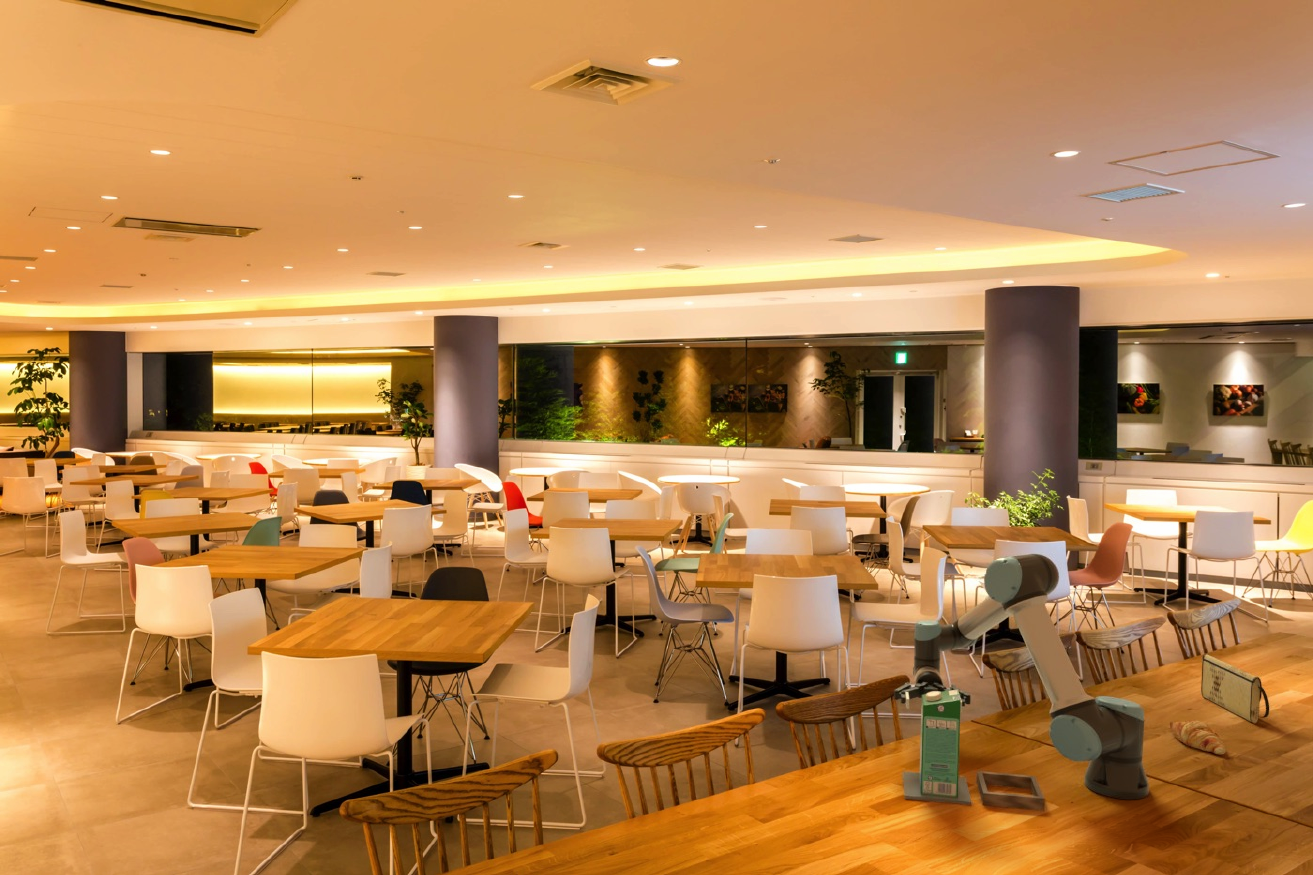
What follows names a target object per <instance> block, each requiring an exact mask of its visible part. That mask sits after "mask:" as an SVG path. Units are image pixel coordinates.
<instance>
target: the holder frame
mask: <svg viewBox="0 0 1313 875" xmlns="http://www.w3.org/2000/svg"><path fill="white" fill-rule="evenodd" d="M976 785H978V786H977V789H978V793H979V795H980V800H981V803H982V806H990V807H992V806H993V807H999V808H1000V807H1001V808H1010V809H1021V810H1031V811H1032V810H1033V811H1042V812H1045V809H1046V808H1045V806H1046V805H1045V802H1046V801H1045V800H1046V799H1045V795H1044V794H1043V791H1042V790H1041V787H1040V784H1039V783H1038V780H1037V777H1036V776H1035V775H1025V774H1016V773H1004V772H994V771H993V772H992V771H991V772H990V771H981V770H976ZM994 785H996V786H995V787H1005V788H1006V787H1007V788H1014V789H1015V788H1017V789H1018V788H1019V789H1029V790H1030V791H1031V795H1028V794H1016V793H1005V792H997V791H996V792H995V791H988V788H987V786H994Z"/></svg>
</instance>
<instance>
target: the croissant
mask: <svg viewBox="0 0 1313 875" xmlns="http://www.w3.org/2000/svg"><path fill="white" fill-rule="evenodd" d="M1169 727H1170V729H1171V732H1172V733H1171V734H1172V735H1173V736H1174V737H1175V738H1176V739H1177V740H1178V741H1179V742H1180V743H1182V742H1183V744H1185V745H1187V746H1188V747H1190V746H1191V748H1193V749H1198V750H1202V751H1205V752H1208V753H1210V752H1211V753H1213V754H1214V755H1224V754H1226V747H1225V744H1224V742H1223V741H1222V739H1221V737H1220V736H1219V734H1218V733H1216V732H1214V731H1213V730H1212V729H1211V727H1210V726H1209V725H1208V724H1205V723H1204V722H1201V721H1198V720H1196V719H1192V720H1191V719H1190V720H1189V721H1187V720H1186V721H1183V722H1181V721H1176V722H1174V721H1171V722H1169Z"/></svg>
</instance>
